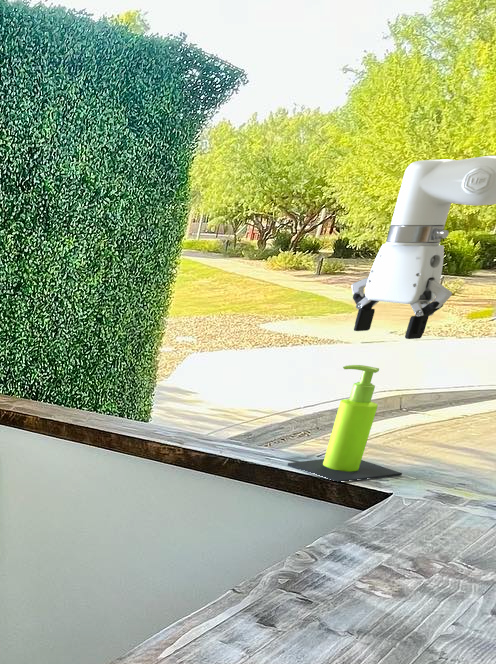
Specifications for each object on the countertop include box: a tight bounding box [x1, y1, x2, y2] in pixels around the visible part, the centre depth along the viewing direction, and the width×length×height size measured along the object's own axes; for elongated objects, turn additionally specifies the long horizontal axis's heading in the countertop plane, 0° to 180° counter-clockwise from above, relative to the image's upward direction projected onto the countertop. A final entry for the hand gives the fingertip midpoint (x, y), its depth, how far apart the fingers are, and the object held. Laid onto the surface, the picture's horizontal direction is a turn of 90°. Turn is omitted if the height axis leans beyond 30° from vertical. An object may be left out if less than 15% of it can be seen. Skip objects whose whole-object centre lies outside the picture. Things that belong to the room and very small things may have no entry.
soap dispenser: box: [323, 364, 380, 472], centre depth 149 cm, size 6×7×20 cm
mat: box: [287, 458, 403, 482], centre depth 152 cm, size 16×11×1 cm
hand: (386, 334), depth 141 cm, fingers open, 9 cm apart
